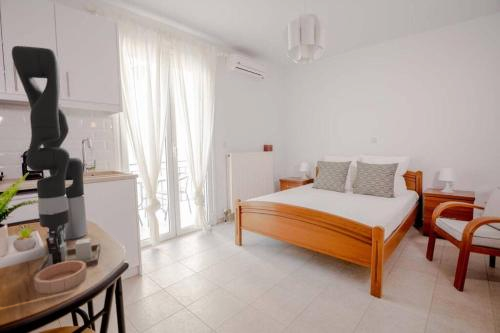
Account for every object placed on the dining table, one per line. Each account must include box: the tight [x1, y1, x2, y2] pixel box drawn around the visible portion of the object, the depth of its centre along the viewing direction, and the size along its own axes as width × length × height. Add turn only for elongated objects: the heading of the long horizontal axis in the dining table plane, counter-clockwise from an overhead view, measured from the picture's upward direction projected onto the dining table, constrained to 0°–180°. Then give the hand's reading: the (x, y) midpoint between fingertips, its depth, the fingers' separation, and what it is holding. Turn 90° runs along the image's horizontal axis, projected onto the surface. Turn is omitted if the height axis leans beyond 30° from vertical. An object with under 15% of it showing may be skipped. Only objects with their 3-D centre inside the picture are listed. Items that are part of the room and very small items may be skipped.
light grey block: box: [49, 241, 68, 266], centre depth 81 cm, size 4×4×6 cm
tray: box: [35, 243, 101, 275], centre depth 83 cm, size 14×16×2 cm
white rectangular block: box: [74, 237, 92, 261], centre depth 85 cm, size 4×4×6 cm
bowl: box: [33, 260, 88, 294], centre depth 71 cm, size 12×12×4 cm
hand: (58, 260), depth 82 cm, fingers closed on light grey block, 4 cm apart
